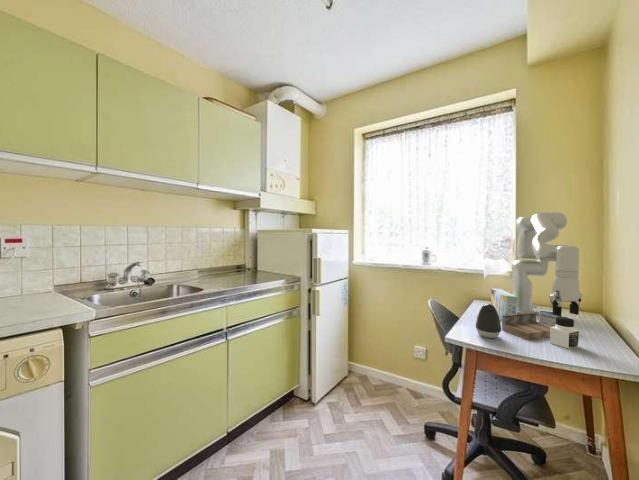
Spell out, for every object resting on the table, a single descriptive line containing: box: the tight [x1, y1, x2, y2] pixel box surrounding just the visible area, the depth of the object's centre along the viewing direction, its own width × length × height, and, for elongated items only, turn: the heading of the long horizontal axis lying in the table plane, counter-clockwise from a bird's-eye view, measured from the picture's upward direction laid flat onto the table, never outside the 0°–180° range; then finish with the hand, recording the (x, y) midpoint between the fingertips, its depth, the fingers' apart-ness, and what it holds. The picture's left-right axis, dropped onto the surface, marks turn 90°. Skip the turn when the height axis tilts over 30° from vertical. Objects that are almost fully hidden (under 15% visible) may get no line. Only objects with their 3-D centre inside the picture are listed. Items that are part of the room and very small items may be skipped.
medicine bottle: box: [549, 315, 580, 350], centre depth 124 cm, size 7×7×12 cm
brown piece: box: [501, 311, 552, 341], centre depth 138 cm, size 20×14×7 cm
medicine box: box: [538, 308, 558, 327], centre depth 145 cm, size 8×4×9 cm, turn 47°
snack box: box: [490, 288, 517, 322], centre depth 160 cm, size 21×6×15 cm, turn 168°
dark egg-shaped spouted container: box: [475, 303, 502, 339], centre depth 133 cm, size 10×10×15 cm
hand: (565, 314), depth 123 cm, fingers open, 9 cm apart
